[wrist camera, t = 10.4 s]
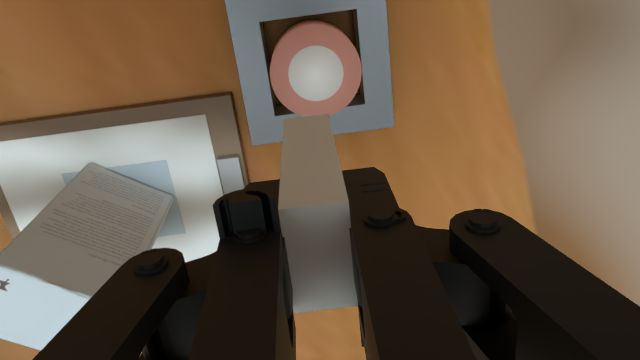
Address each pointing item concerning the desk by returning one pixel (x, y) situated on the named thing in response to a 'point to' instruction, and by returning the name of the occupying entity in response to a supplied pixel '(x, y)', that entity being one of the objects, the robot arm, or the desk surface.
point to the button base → (254, 71)
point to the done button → (315, 69)
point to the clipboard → (131, 161)
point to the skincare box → (74, 251)
